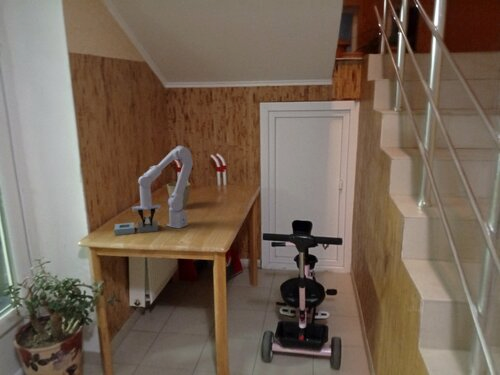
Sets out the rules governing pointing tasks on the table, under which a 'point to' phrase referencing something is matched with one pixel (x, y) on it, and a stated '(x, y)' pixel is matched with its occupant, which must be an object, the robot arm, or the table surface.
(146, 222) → the aluminium peg
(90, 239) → the table surface
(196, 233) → the table surface
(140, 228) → the charcoal stand
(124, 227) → the block
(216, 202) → the table surface
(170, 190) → the plant pot
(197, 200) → the table surface
